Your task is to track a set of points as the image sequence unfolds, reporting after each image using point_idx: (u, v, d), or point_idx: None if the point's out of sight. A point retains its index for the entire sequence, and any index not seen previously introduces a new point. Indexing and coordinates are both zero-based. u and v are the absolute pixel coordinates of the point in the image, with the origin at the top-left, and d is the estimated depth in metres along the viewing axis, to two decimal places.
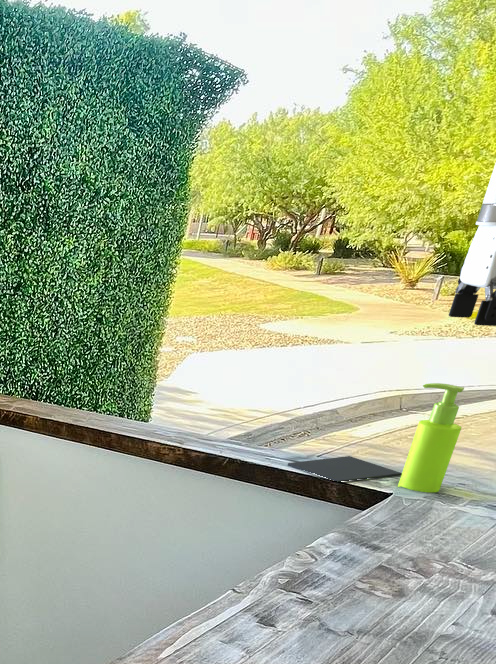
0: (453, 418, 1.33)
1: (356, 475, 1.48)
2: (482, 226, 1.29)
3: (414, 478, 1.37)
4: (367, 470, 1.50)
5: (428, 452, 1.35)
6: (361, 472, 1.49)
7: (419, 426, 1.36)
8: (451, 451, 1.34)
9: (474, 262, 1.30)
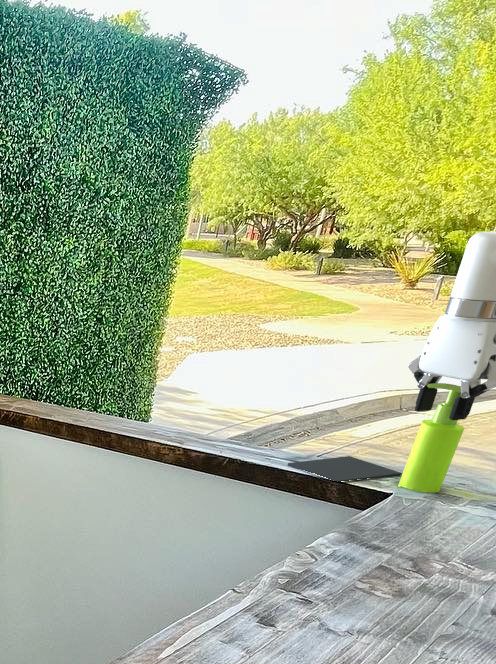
0: None
1: (356, 475, 1.48)
2: (452, 319, 1.29)
3: (415, 478, 1.37)
4: (367, 470, 1.50)
5: (430, 453, 1.35)
6: (361, 472, 1.49)
7: (422, 426, 1.36)
8: (453, 452, 1.34)
9: (449, 354, 1.30)
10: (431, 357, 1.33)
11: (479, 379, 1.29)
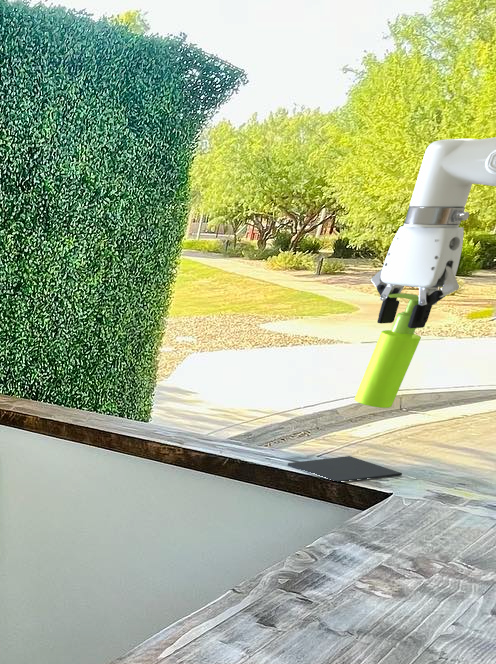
0: (414, 328, 1.37)
1: (356, 475, 1.48)
2: (411, 228, 1.33)
3: (372, 387, 1.42)
4: (367, 470, 1.50)
5: (387, 361, 1.39)
6: (361, 472, 1.49)
7: (381, 336, 1.40)
8: (409, 361, 1.39)
9: (408, 263, 1.34)
10: (392, 268, 1.37)
11: (436, 287, 1.33)
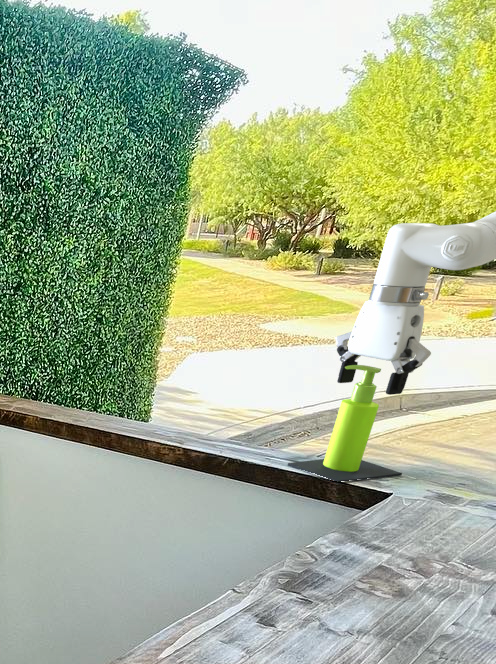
0: (371, 397, 1.45)
1: (356, 475, 1.48)
2: (375, 304, 1.40)
3: (337, 453, 1.49)
4: (367, 470, 1.50)
5: (349, 428, 1.47)
6: (361, 472, 1.49)
7: (341, 404, 1.48)
8: (369, 427, 1.46)
9: (373, 337, 1.41)
10: (358, 340, 1.44)
11: (407, 356, 1.39)
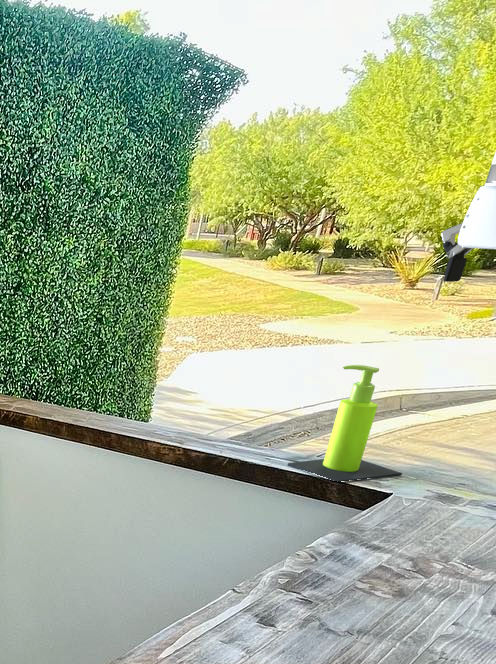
0: (370, 397, 1.45)
1: (356, 475, 1.48)
2: (493, 188, 1.27)
3: (337, 453, 1.50)
4: (367, 470, 1.50)
5: (348, 428, 1.47)
6: (361, 472, 1.49)
7: (340, 404, 1.48)
8: (369, 427, 1.46)
9: (489, 224, 1.28)
10: (471, 230, 1.31)
11: None
